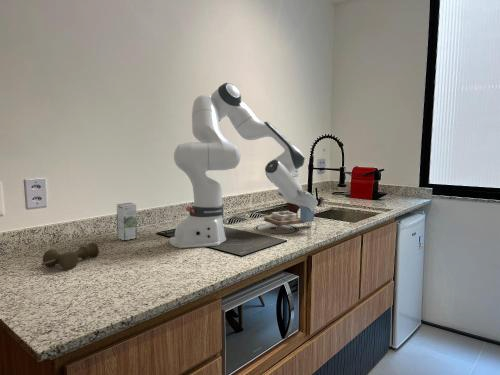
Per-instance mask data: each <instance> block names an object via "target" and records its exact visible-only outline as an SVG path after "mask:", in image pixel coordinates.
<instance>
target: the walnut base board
mask: <svg viewBox="0 0 500 375" xmlns="http://www.w3.org/2000/svg"><path fill="white" fill-rule="evenodd" d="M263 217H264V218H263V220H264V221H266V222H269V223H271V224H274V225H277V226H287V225H296V224H305V223H307V222H304V221H300V217H299V213H298V214H296V213H292V212H289V210H286V211H276V212H275V211H273V212H271V216H263Z"/></svg>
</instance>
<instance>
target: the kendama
mask: <svg viewBox="0 0 500 375" xmlns="http://www.w3.org/2000/svg"><path fill="white" fill-rule="evenodd" d="M98 246H99V245H98V244H96V243H95V242H90V243H88V244H87V246H85V245H84V246H83V245H82V246H80V247H78V249H77V250H76V251H73V250H68V251H66V252H64V253H59V251H58V250H57V249H54V248H51V249H48V250H46V251H45V252H44V253H43V256H42V263H41V266H44V267H47V268H48V267H49V268H50V267H54V266H56V265H59V266H61V268H62V269H63V271H67V272H68V271H71V270H73V269H75V268H76V266H77V265H78V262H79V259H80V258H81V259H82V260H85V259H88V258H90V257H91V258H97V257H98V256H99V252H100V251H99V247H98Z"/></svg>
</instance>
